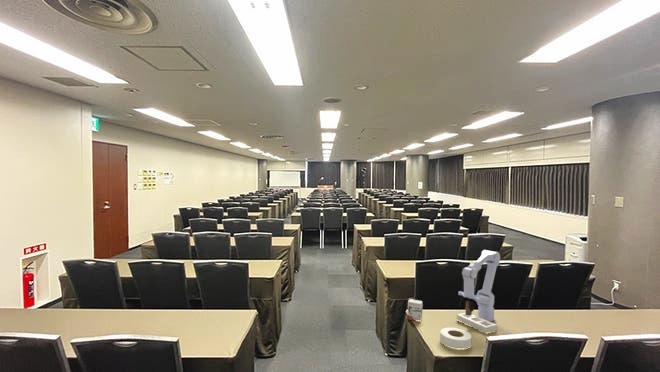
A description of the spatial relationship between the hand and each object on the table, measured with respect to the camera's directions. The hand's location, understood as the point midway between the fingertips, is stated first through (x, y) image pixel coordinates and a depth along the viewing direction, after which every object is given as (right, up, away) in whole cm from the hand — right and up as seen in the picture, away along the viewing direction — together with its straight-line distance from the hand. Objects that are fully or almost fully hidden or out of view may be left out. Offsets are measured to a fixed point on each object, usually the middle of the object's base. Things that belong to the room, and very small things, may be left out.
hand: (468, 310), depth 198 cm
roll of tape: (-16, -10, -22) cm, 29 cm away
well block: (+5, -10, 0) cm, 11 cm away
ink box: (-30, -10, +9) cm, 33 cm away
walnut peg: (0, -3, 0) cm, 3 cm away
